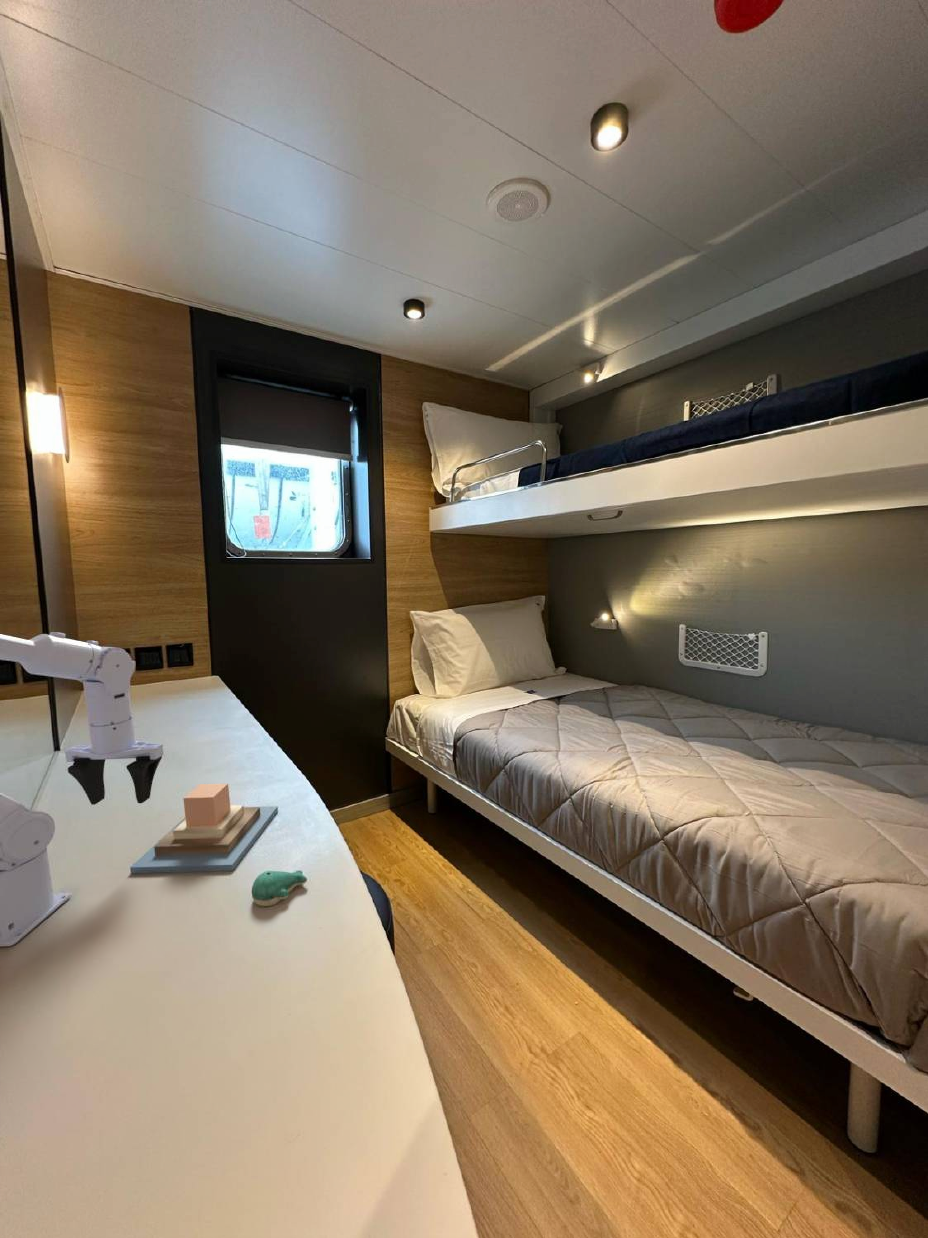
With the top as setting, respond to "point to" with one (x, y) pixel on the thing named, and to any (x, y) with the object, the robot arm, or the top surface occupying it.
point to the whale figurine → (275, 886)
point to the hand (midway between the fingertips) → (121, 801)
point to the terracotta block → (207, 805)
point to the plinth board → (205, 859)
